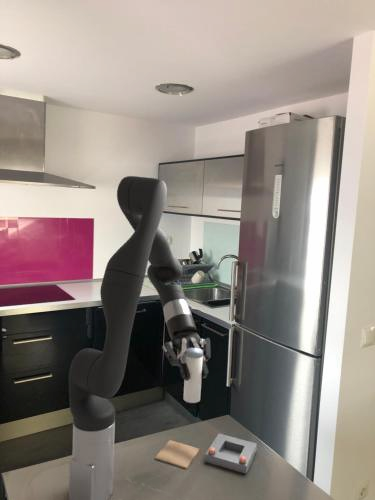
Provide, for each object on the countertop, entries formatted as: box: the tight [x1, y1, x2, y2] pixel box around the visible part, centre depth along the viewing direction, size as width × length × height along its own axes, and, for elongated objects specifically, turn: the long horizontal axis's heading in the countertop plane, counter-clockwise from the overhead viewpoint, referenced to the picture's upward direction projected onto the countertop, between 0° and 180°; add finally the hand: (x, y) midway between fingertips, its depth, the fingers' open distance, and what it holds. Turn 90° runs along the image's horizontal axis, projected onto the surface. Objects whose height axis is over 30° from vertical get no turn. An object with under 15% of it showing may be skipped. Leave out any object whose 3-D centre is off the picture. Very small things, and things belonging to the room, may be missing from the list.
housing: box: [204, 433, 258, 475], centre depth 108 cm, size 11×11×4 cm
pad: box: [154, 439, 201, 470], centre depth 108 cm, size 9×9×1 cm
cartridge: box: [183, 348, 203, 404], centre depth 105 cm, size 4×4×13 cm
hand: (196, 377), depth 103 cm, fingers closed on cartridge, 4 cm apart
